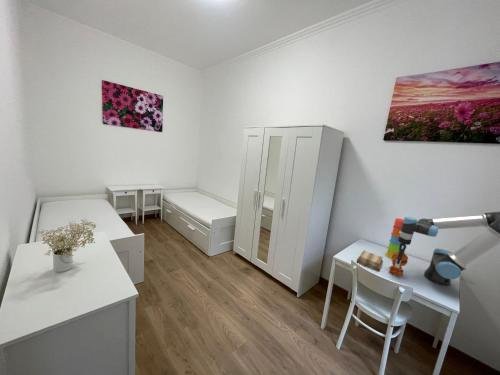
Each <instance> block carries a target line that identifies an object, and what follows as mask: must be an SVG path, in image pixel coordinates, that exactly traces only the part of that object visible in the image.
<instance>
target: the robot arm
mask: <svg viewBox="0 0 500 375" xmlns="http://www.w3.org/2000/svg"><path fill="white" fill-rule="evenodd" d="M403 220H404V221H403V224H402V228H401V232H399V233H400V236H399V238H398V241H399V242H400V246H399V254H398V257H397V258H396V259H397V260H396V263H395V267H397V268H399V267H400V263H401V260H402V255H403V252H404V253H405V252H406V249H407V246H408V245H409V246H410V245H411V242H412V240H413V236H414V233H418V234H421V235H425V236H428V237H432V238H433V237H434V238H436V236H438V233H439V230H442V229H443V230H444V229H445V230H446V229H462V228H476V227H477V228H478V227H480V228H482V227H485V228H487V229H486V230H485V231H483V232H482V233H480V234H479V235H478V236H477V237H475V238H474V239H472V240H470V241H469V242H467V243H466V244H464V245H463V246H462V247H460V248H459V249H457V250H455V251H454V252H452V251H450V250H447V249H443V248H435V249H434V251H433V253H432V257H431V260H430V264H429V266H428V267H427V268H426V269H425V271H424V272H423V276H424V277H425V278H426V279H428V280H429V281H431V282H433V283H435V284H437V285H440V286H445V287H446V286H447V287H448V286H450V285H451V283H452V280H456V279H459V278H460V277H461V275H462V271H465V270H466V269H467V265H468V264H470V263H472V262H473V261H474V260H476V259H478V258H479V257H481V256H482V255H484V254H486V253H488V252H489V251H490V250H492V249H494V248H495V247H496V246H498V245H499V244H500V211H492V212H481V214H476V215H475V214H473V215H464V216H462V215H461V216H450V217H439V218H419V219H417V218H416V217H412V216H405V217H403ZM401 243H402V244H401Z"/></svg>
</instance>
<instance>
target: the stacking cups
mask: <svg viewBox="0 0 500 375" xmlns="http://www.w3.org/2000/svg"><path fill="white" fill-rule="evenodd" d="M403 221H404V218H398V217H397V218H395V220H394V225H393V227H392V232H391V235H390V239H389V240H388V241H389V244H388V246H387V252H386V253H385V256H386V257H388V258H389V259H391V258H392V255H393V254H394V253H395V252H399V246H400V242H399V241H398V238H399V236H400V233H399V232H401V228H402V224H403ZM401 244H402V243H401Z"/></svg>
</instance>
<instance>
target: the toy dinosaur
mask: <svg viewBox="0 0 500 375" xmlns="http://www.w3.org/2000/svg"><path fill="white" fill-rule="evenodd" d="M398 254H399V252H395V253H394V254H393V255H392V258H390V259H391V264H392V265H390V266H388V269H389V272H390V273H391V274H392V275H394V276H398V277H399V276H400V277H402V276H404V270H403V268H402V267H405V266H406V265H407V264H408V262H409V257H408V255H407V254H406V253H405V251H404V252H403V255H402V260H401V263H400V267H399V268H397V267H395V263H396V260H397V259H396V258H397V257H398Z"/></svg>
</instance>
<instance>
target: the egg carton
mask: <svg viewBox="0 0 500 375" xmlns="http://www.w3.org/2000/svg"><path fill="white" fill-rule="evenodd" d="M356 262H357V263H356V264H358V263H359V265H360V264H361V266H363V267H365V268H367V269H370V270H373V271H376V272H378V273H379V272H380V271H381V268H382V266H383V264H384V260H383V256H380V255H377V254H375V253H372V252H369V251H367V250H363V251H362V252H361V254H360V255H359V256H358V258H357V259H356Z"/></svg>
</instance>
